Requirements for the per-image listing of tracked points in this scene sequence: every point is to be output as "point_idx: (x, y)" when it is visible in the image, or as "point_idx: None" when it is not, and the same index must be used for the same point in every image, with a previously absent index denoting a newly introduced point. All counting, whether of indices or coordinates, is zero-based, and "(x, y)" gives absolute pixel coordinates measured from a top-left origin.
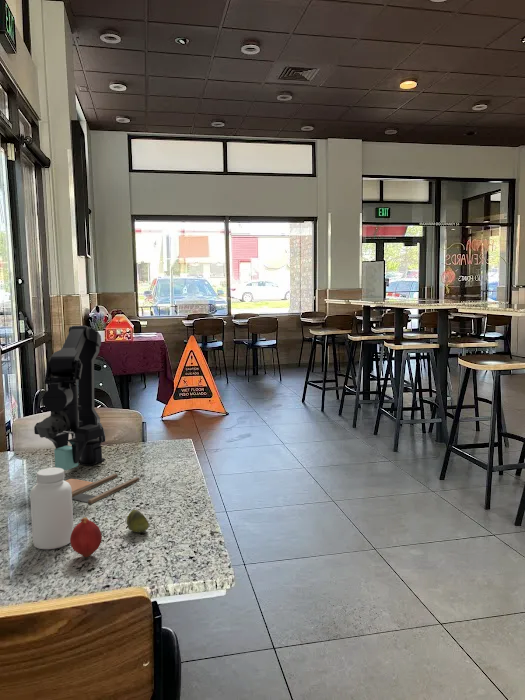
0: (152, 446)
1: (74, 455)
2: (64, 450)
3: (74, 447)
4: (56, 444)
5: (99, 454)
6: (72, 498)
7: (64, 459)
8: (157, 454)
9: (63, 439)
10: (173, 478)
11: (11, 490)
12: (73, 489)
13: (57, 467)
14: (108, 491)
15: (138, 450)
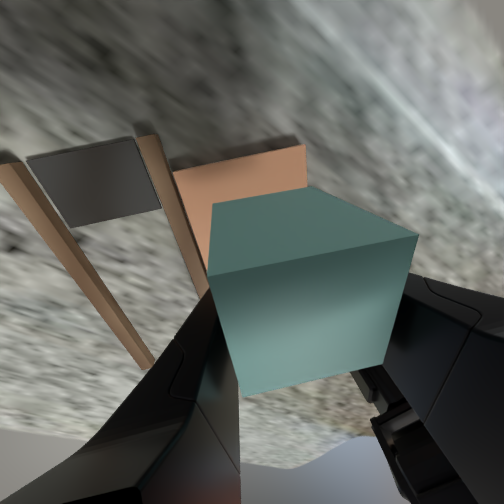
0: (320, 436)
1: (198, 311)
2: (248, 286)
3: (149, 393)
4: (473, 313)
5: (357, 378)
6: (122, 146)
7: (226, 227)
8: (275, 430)
9: (466, 420)
10: (96, 408)
11: (451, 39)
12: (198, 200)
13: (294, 191)
14: (73, 268)
15: (328, 419)
